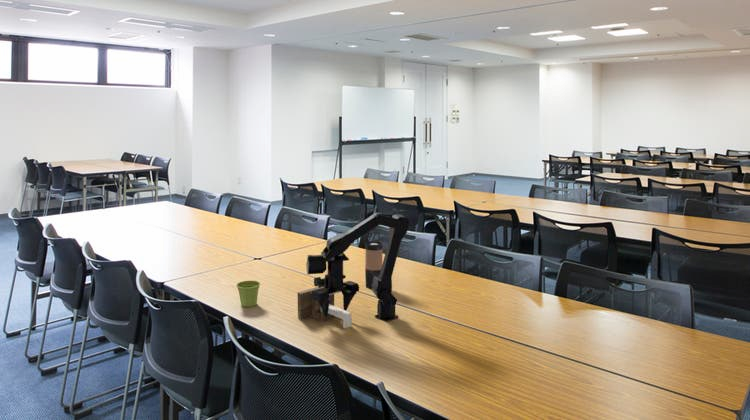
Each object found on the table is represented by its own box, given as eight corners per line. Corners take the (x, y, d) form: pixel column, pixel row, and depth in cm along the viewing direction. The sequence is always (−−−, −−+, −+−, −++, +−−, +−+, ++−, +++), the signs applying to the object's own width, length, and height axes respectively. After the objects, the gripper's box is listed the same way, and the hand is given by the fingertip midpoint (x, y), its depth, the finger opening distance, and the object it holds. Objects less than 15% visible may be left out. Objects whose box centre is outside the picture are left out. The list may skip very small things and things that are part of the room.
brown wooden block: (345, 313, 200) (345, 288, 198) (311, 324, 189) (311, 298, 187) (331, 307, 206) (330, 283, 204) (297, 317, 195) (297, 292, 193)
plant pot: (264, 306, 207) (264, 285, 206) (241, 310, 202) (240, 289, 200) (255, 299, 215) (255, 279, 213) (233, 303, 209) (232, 282, 208)
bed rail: (351, 326, 187) (351, 312, 186) (344, 328, 185) (344, 315, 184) (326, 315, 197) (326, 303, 196) (320, 317, 195) (320, 304, 194)
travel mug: (385, 285, 234) (385, 242, 230) (376, 290, 227) (376, 245, 224) (371, 283, 238) (371, 240, 234) (361, 287, 231) (362, 243, 228)
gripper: (340, 263, 200) (340, 301, 203) (301, 272, 187) (301, 313, 190) (360, 269, 192) (360, 309, 195) (320, 279, 179) (320, 322, 182)
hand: (335, 313), depth 191 cm, fingers open, 9 cm apart
